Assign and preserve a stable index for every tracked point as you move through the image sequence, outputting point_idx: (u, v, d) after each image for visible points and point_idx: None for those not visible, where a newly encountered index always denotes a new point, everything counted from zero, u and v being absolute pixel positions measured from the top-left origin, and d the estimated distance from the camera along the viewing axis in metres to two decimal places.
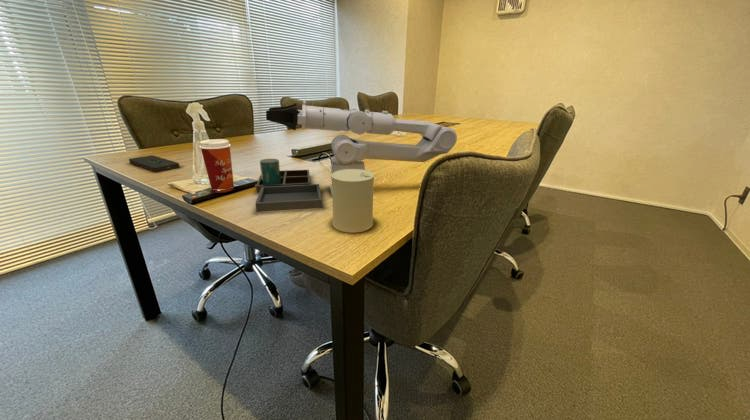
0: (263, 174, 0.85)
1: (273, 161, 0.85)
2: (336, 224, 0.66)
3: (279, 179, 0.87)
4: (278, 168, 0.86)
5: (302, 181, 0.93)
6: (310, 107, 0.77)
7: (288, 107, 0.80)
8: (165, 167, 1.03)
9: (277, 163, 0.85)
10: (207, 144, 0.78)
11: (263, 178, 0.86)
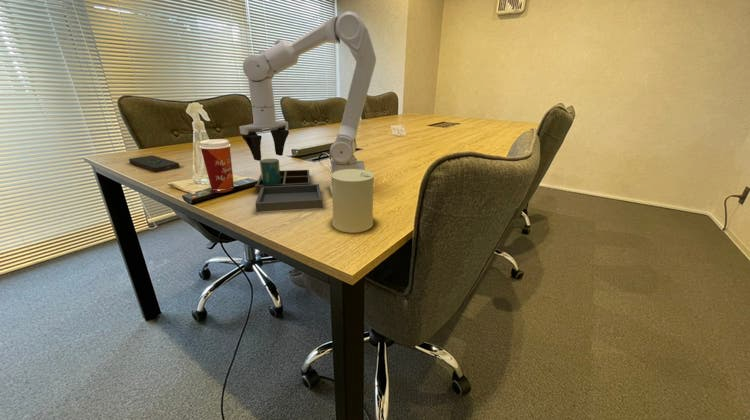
0: (263, 174, 0.85)
1: (273, 161, 0.85)
2: (336, 224, 0.66)
3: (279, 179, 0.87)
4: (278, 168, 0.86)
5: (302, 181, 0.93)
6: None
7: (273, 137, 0.87)
8: (165, 167, 1.03)
9: (277, 163, 0.85)
10: (207, 144, 0.78)
11: (263, 178, 0.86)
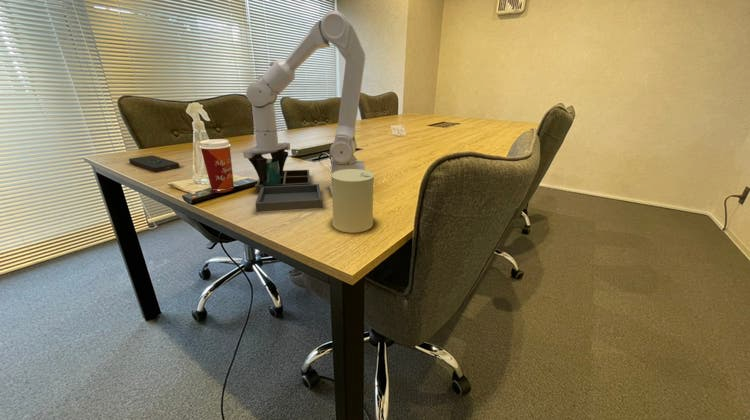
0: None
1: (273, 161, 0.85)
2: (336, 224, 0.66)
3: (279, 179, 0.87)
4: (278, 168, 0.86)
5: (302, 181, 0.93)
6: None
7: None
8: (165, 167, 1.03)
9: (277, 163, 0.85)
10: (207, 144, 0.78)
11: None
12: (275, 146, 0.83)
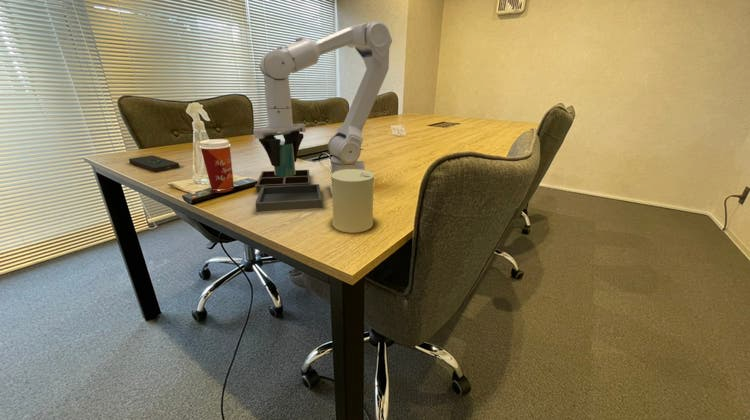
0: None
1: (287, 143, 0.75)
2: (336, 224, 0.66)
3: (293, 164, 0.77)
4: (292, 152, 0.76)
5: (302, 181, 0.93)
6: None
7: None
8: (165, 167, 1.03)
9: (291, 146, 0.75)
10: (207, 144, 0.78)
11: None
12: (289, 126, 0.73)
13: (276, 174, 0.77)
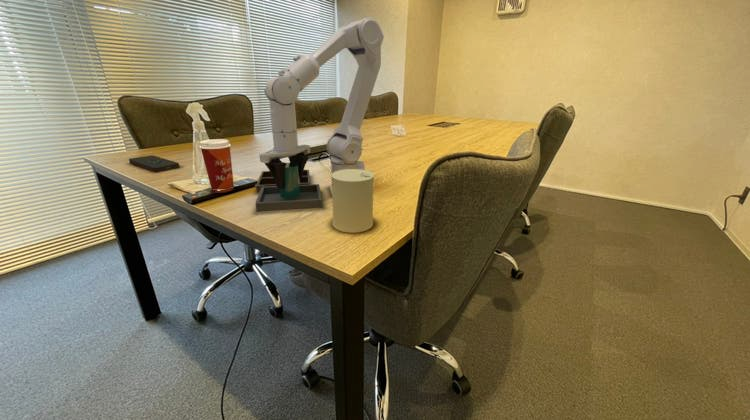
0: None
1: (292, 166, 0.75)
2: (336, 224, 0.66)
3: (298, 186, 0.78)
4: (297, 173, 0.76)
5: (302, 181, 0.93)
6: None
7: None
8: (165, 167, 1.03)
9: (296, 168, 0.76)
10: (207, 144, 0.78)
11: None
12: (295, 149, 0.73)
13: (281, 196, 0.77)
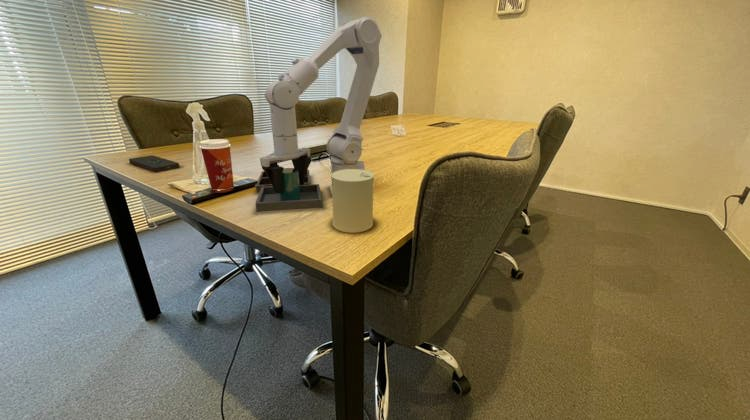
0: None
1: (292, 171, 0.76)
2: (336, 224, 0.66)
3: (298, 191, 0.78)
4: (298, 179, 0.77)
5: None
6: None
7: (294, 165, 0.80)
8: (165, 167, 1.03)
9: (297, 173, 0.76)
10: (207, 144, 0.78)
11: None
12: (295, 152, 0.74)
13: None
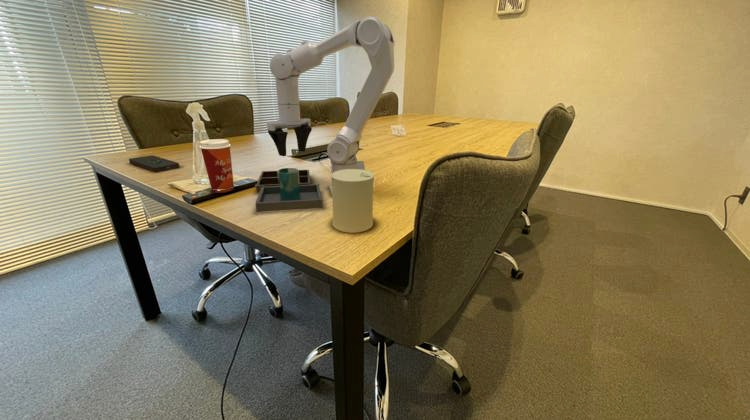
0: (281, 186, 0.76)
1: (292, 171, 0.76)
2: (336, 224, 0.66)
3: (298, 191, 0.78)
4: (298, 179, 0.77)
5: (302, 181, 0.93)
6: None
7: (296, 134, 0.90)
8: (165, 167, 1.03)
9: (297, 173, 0.76)
10: (207, 144, 0.78)
11: (281, 190, 0.77)
12: (298, 120, 0.83)
13: None
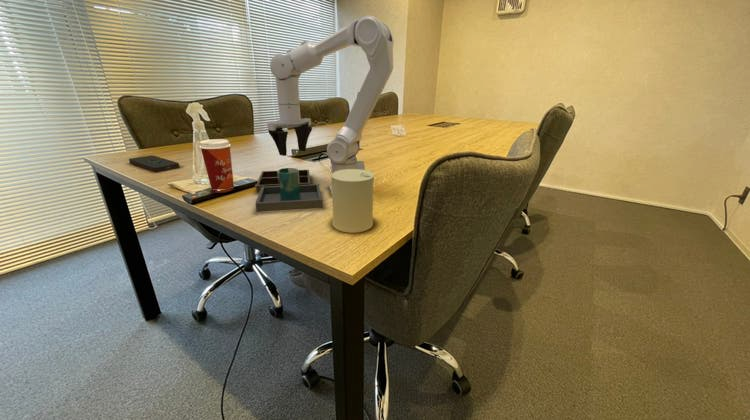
0: (281, 186, 0.76)
1: (292, 171, 0.76)
2: (336, 224, 0.66)
3: (298, 191, 0.78)
4: (298, 179, 0.77)
5: (302, 181, 0.93)
6: None
7: (296, 133, 0.91)
8: (165, 167, 1.03)
9: (297, 173, 0.76)
10: (207, 144, 0.78)
11: (281, 190, 0.77)
12: (298, 120, 0.84)
13: None
